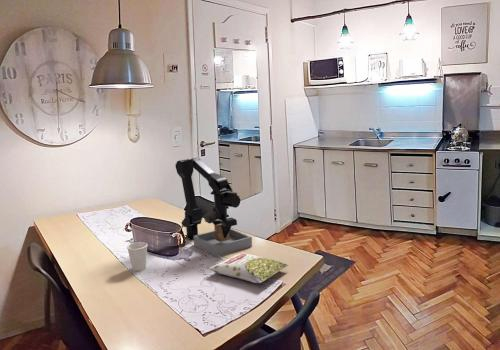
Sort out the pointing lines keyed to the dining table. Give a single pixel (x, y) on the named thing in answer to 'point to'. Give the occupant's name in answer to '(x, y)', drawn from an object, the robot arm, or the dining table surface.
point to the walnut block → (220, 233)
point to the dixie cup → (138, 255)
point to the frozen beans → (249, 267)
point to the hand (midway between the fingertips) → (222, 236)
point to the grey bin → (220, 248)
